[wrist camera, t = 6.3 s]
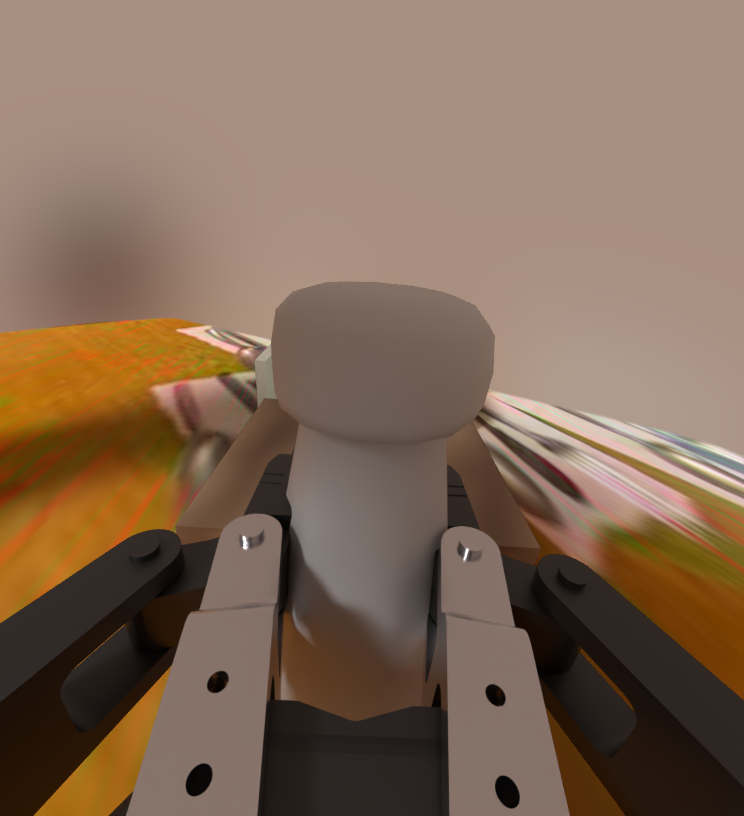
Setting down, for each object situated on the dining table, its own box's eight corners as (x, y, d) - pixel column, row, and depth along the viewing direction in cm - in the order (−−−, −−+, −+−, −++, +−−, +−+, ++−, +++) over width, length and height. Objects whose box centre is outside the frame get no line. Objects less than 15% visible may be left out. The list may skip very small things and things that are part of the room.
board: (181, 559, 16) (175, 525, 16) (265, 420, 29) (264, 398, 28) (529, 580, 17) (540, 548, 16) (462, 434, 30) (467, 412, 29)
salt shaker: (344, 587, 16) (365, 269, 10) (466, 680, 13) (584, 300, 7) (222, 707, 12) (150, 271, 6) (362, 891, 8) (464, 344, 3)
